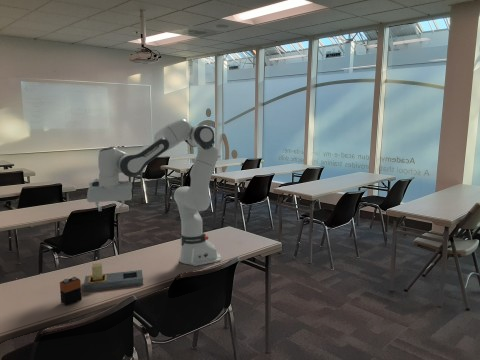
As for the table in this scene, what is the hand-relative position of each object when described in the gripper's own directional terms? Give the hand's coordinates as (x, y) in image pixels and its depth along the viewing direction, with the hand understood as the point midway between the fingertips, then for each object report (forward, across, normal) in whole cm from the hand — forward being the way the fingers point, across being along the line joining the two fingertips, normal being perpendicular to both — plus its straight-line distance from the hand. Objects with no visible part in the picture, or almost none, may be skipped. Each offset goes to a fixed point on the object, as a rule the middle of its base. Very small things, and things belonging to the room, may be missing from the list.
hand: (110, 210), depth 178 cm
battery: (+31, +16, +27) cm, 44 cm away
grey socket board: (+31, -1, +14) cm, 34 cm away
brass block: (+30, +6, +14) cm, 34 cm away
